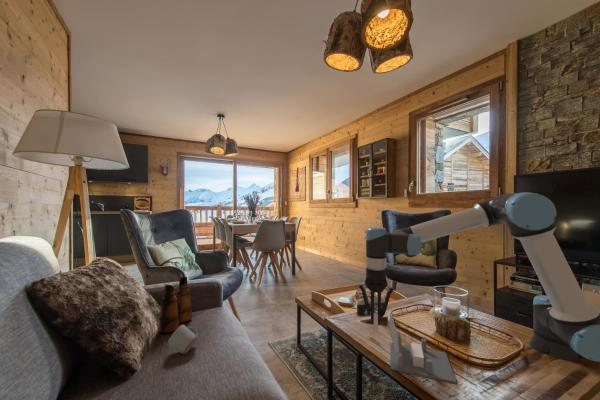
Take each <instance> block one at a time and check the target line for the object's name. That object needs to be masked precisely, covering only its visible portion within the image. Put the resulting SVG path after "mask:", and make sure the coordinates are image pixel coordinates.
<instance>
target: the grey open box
mask: <svg viewBox="0 0 600 400" xmlns="http://www.w3.org/2000/svg"><path fill="white" fill-rule="evenodd" d="M397 332H398V339H399V353H398V354H397V352H396V350H395V347H394V344H393V342H392V341H391V342H390V348H389V349H390V370H391V371H393V372H400V373H405V374H408V375H412V376H413V375H414V376H418V377H419V376H420V377H423V378H428V379H433V380H438V381H442V382H447V383H452V384H457V380H456V376H455V373H454V371H453V369H452V366H451V363H450V361H449V358H448V355H447V353H446V351H443V350H442V351H440V350H435V349H430V348H429V349H428V348H427V339H426V338H421V347H422V352H423V356H424V368H422V367H417V366H413V361H412V354H411V345H408V344H403V341H402V335H401V331H400V330H397Z"/></svg>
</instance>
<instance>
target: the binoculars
mask: <svg viewBox="0 0 600 400" xmlns="http://www.w3.org/2000/svg"><path fill="white" fill-rule="evenodd" d="M177 288H178V289H177V291H175V287H174V286H173V285H171V284H165V285H164V294H163V297H162V299H161V308H160V316H159V327H158V331H159V332H160V333H162V334H163V333H171V332H175V331H176V330H177V329H178V328H179V327H180V323H184V322H187V321H189V320H191V319H192V318H193V313H192V311H193V310H192V302H191V300H192V299H191V290H190V288H189V285H188V277H187V276H181V278H180V279H179V281H178V286H177Z"/></svg>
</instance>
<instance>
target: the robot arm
mask: <svg viewBox="0 0 600 400" xmlns="http://www.w3.org/2000/svg"><path fill="white" fill-rule="evenodd" d="M556 217H557V209H556V207H555V204H554V202H552V201H551V200H550V198H548V197H546V196H545V195H542V194H539V193H535V192H529V191H524V192H523V191H522V192H513V193H512V192H511V193H502V194H499V195H497V196H495V197H492V198H489V199H486V200H484V201H480V202H478V203H475V204H474V206H473V207H470V208H467V209H465V210H461V211H458V212H454V213H451V214H448V215H445V216H441V217H438V218H435V219H431V220H428V221H425V222H421V223H418V224H415V225H412V226H408V227H404V228H398V229H394V230H393V231H392V232H391V233H389V232H387V229H386V228H385V227H375V226H374V227H373V226H372V227H368V228H367V229H366V234H365V254H366V255H365V267H366V268H365V279H364V282H360V283H359V285H358V288H359V289H360V291H361V294H362V298H363V299H364V303H365V307H366V310H369V311H370V312H371V316H370V320H371V321H373V331H375V332H376V331H377V332H378V331H379V322H381V321H382V318H381V313H383V312H384V313H385V314H386V313H387V308H388V307H389V302H390V298H391V295H392V293H393V292H394V287H393V286H392V285H389V284H388V281H387V269H386V268H387V254H396V255H398V254H399V255H409V256H413V255H414V256H416V255H420V254H421V251H422V243H425V242H428V241H432V240H436V239H439V238H442V237H446V236H449V235H452V234H457V233H460V232H464V231H468V230H471V229H475V228H479V227H484V228H488V227H491V226H498V225H506V227H507V230H508V231H509V233H510V235H511V238H514V239H517V240H519V241H520V243H521V246H522V247H523V250H524V251H525V254H526V256H527V258H528V260H529V261H530V263H531V266H532V267H533V269H534V272H535V274H536V276H537V278H538V281H539V283H540V284H541V286H542V288H543V291H544V293H545V295H544V294H541V295H535V296H534V297H533V302H532V307H533V308H532V311H533V312H532V313H533V314H532V316H533V318H532V319H533V321H532V323H533V325H532V327H533V328H532V329H533V330H532V332H533V333H532V335H531V337H530V339H529V341H528V345H529V346H530V348H531V349H533V350H535V351H536V352H538V353H541V354H547V355H548V356H550V357H552V358H553V359H559V360H564V361H574V362H575V361H579V359H580V358H585V359H587V360H590V361H593V362H596V363H597V362H598V363H600V310H599V308H597V306H594V305H592V304H589V301H587V298H586V297H585V294H584V292H583V291H582V288H581V287H580V284H579V282H578V280H577V279H576V277H575V275H574V272H573V270H572V269H571V267H570V265H569V263H568V261H567V259H566V257H565V254H564V253H563V250H562V248H561V247H560V245H559V243H558V241H557V239H556V237H555V235H554V232H555V230H556V229H557V224H556V223H555V218H556ZM366 288H367V289H368V290H369V291H370V296H371V306H369V302H368V294H367V290H366ZM385 289H386V295H385V298H384V299H385V302H384V305H383V308H381V297H382V293H383V291H384V290H385ZM375 293H377V298H378V311H375V310H374V296H375Z"/></svg>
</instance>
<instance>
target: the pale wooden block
mask: <svg viewBox="0 0 600 400" xmlns="http://www.w3.org/2000/svg"><path fill="white" fill-rule="evenodd" d="M410 346H411V354H412V361H413V366H417V367H422V368H424V356H423V352H422V343H415V342H411V343H410Z"/></svg>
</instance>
